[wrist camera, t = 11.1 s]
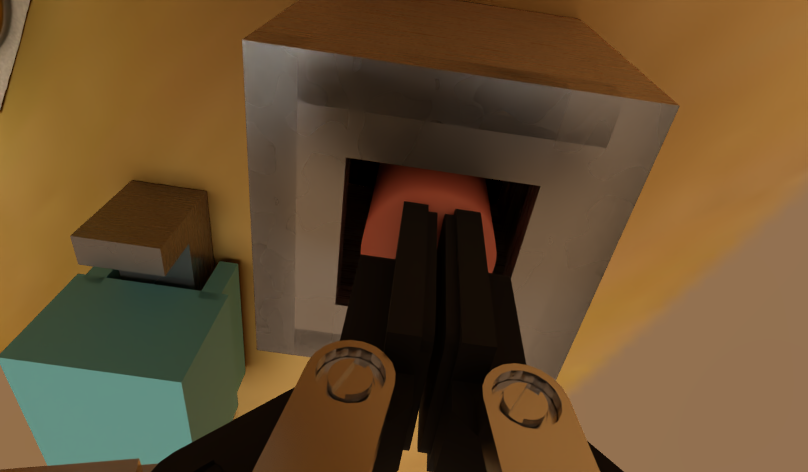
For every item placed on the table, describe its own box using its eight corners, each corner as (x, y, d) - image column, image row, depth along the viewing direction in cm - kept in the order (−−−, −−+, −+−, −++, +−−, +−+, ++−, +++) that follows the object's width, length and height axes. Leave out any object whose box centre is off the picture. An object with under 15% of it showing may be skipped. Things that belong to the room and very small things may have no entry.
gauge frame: (314, -22, 16) (220, 36, 9) (580, 19, 16) (679, 105, 9) (308, 199, 20) (242, 347, 13) (515, 229, 20) (551, 390, 14)
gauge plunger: (388, 104, 14) (366, 187, 10) (491, 120, 14) (511, 208, 10) (378, 195, 16) (355, 297, 12) (470, 208, 16) (480, 315, 12)
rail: (131, 180, 20) (70, 236, 17) (206, 191, 20) (160, 248, 17) (185, 458, 31) (155, 525, 28) (234, 465, 31) (209, 532, 28)
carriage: (106, 244, 22) (-4, 357, 16) (245, 264, 22) (181, 382, 16) (133, 356, 26) (52, 476, 20) (251, 372, 26) (201, 496, 20)
